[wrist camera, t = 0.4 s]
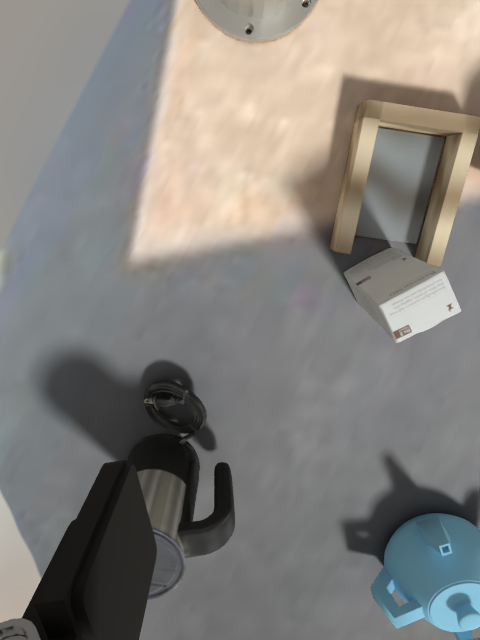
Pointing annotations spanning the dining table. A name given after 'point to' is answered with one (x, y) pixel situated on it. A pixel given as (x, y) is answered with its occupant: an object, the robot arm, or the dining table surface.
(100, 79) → the dining table surface
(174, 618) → the dining table surface
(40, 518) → the dining table surface
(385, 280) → the skincare box
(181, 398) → the black and silver appliance
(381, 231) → the wooden tray
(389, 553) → the teapot
